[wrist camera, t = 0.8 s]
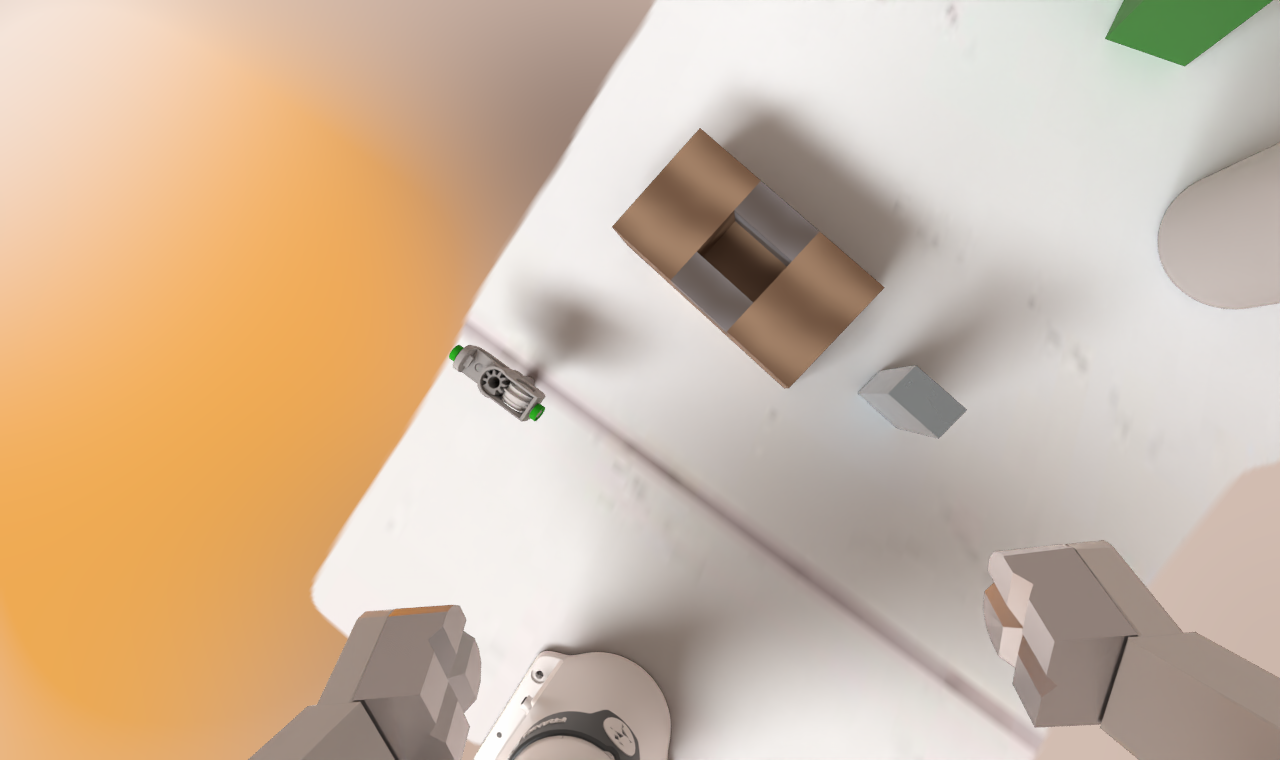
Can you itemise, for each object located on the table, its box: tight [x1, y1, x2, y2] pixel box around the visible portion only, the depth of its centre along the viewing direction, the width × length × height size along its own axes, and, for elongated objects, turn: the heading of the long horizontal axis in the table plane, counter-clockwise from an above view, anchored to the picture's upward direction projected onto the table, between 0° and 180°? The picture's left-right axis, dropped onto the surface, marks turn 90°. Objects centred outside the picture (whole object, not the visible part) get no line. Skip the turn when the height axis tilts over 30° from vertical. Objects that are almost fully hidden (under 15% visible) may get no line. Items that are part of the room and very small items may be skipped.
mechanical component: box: [449, 345, 545, 421], centre depth 67 cm, size 3×10×10 cm, turn 55°
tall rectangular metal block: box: [858, 365, 967, 439], centre depth 59 cm, size 3×5×15 cm, turn 47°
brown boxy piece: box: [612, 128, 885, 388], centre depth 65 cm, size 12×22×8 cm, turn 47°
